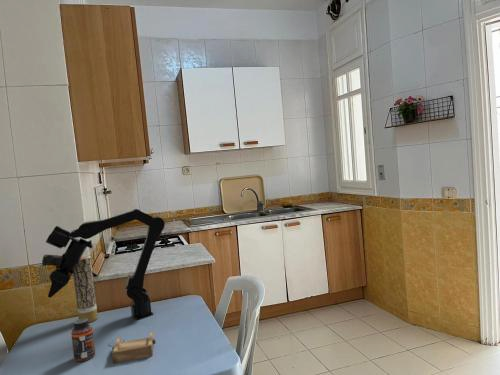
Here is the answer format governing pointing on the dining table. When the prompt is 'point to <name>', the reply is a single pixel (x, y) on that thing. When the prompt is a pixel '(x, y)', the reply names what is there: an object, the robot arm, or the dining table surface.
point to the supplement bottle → (82, 340)
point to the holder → (133, 349)
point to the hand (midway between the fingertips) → (51, 293)
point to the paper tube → (85, 289)
